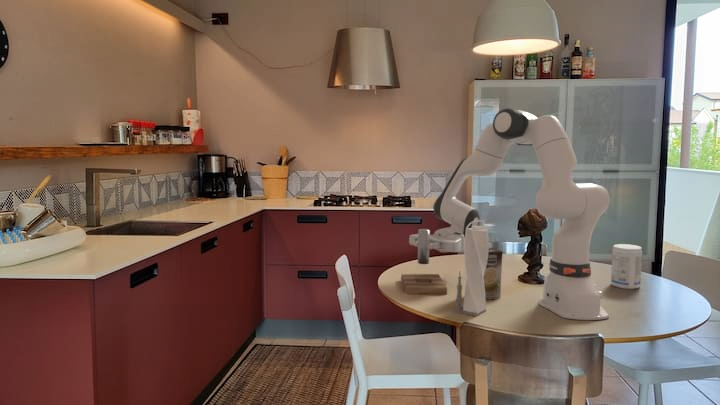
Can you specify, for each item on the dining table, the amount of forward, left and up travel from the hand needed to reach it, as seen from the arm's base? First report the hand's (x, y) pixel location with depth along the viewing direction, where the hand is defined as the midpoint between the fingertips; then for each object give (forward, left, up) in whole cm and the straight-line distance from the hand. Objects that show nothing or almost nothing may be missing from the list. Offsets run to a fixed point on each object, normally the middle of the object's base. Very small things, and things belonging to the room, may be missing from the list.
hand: (422, 245), depth 185 cm
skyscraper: (-26, -13, -15) cm, 33 cm away
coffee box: (-11, -20, -15) cm, 28 cm away
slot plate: (+1, -1, -15) cm, 15 cm away
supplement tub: (+3, -75, -15) cm, 76 cm away
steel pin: (+1, -1, -6) cm, 7 cm away
